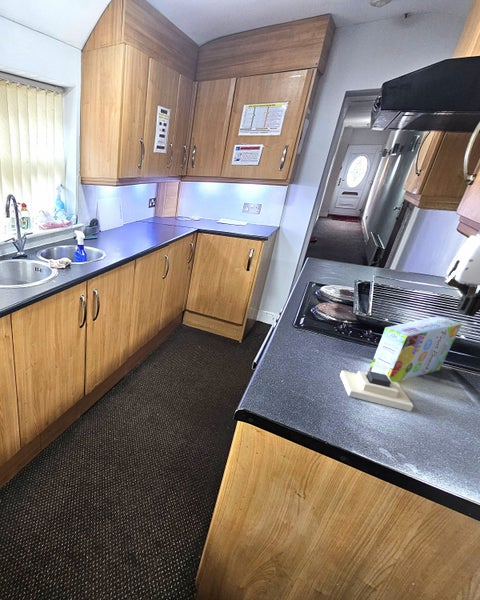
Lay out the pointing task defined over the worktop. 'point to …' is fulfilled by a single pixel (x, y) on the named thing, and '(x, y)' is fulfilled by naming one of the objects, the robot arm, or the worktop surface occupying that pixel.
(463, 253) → the robot arm
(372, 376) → the dark grey square block
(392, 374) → the snack box
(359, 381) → the cream stepped base
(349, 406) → the worktop surface
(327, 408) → the worktop surface
